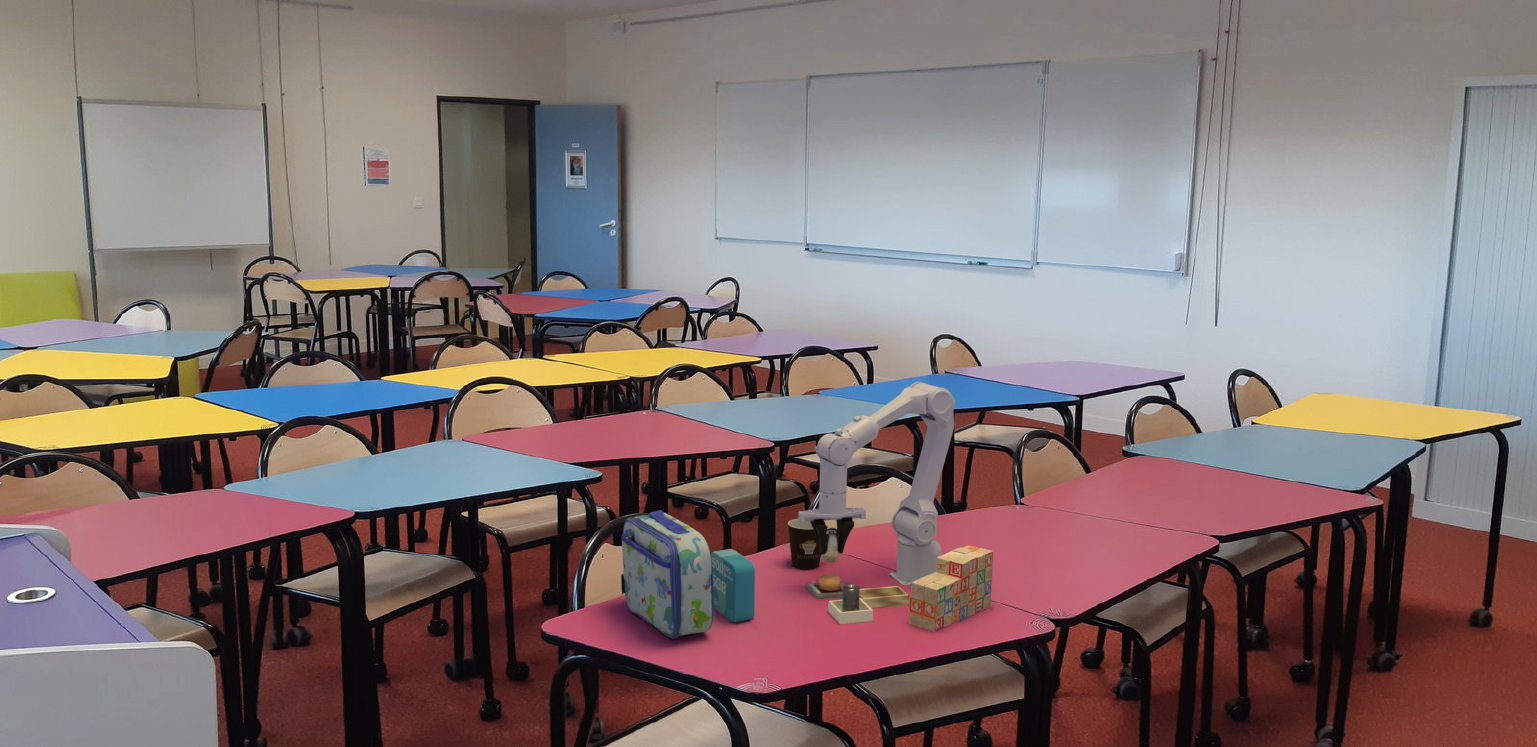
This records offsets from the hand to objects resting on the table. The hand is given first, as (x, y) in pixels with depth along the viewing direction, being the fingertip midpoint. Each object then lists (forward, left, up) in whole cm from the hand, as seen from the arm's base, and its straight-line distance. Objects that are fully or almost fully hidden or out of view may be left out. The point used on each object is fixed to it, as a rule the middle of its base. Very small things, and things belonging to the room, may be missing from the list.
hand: (831, 552), depth 234 cm
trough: (-8, +9, -9) cm, 15 cm away
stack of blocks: (-20, +18, -9) cm, 28 cm away
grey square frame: (0, 0, -9) cm, 9 cm away
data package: (+23, +6, -9) cm, 26 cm away
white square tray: (+1, +15, -9) cm, 17 cm away
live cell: (0, 0, -2) cm, 2 cm away
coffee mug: (-2, -18, -9) cm, 20 cm away
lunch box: (+37, +7, -9) cm, 39 cm away
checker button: (0, 0, -7) cm, 8 cm away
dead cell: (+1, +15, -9) cm, 17 cm away
